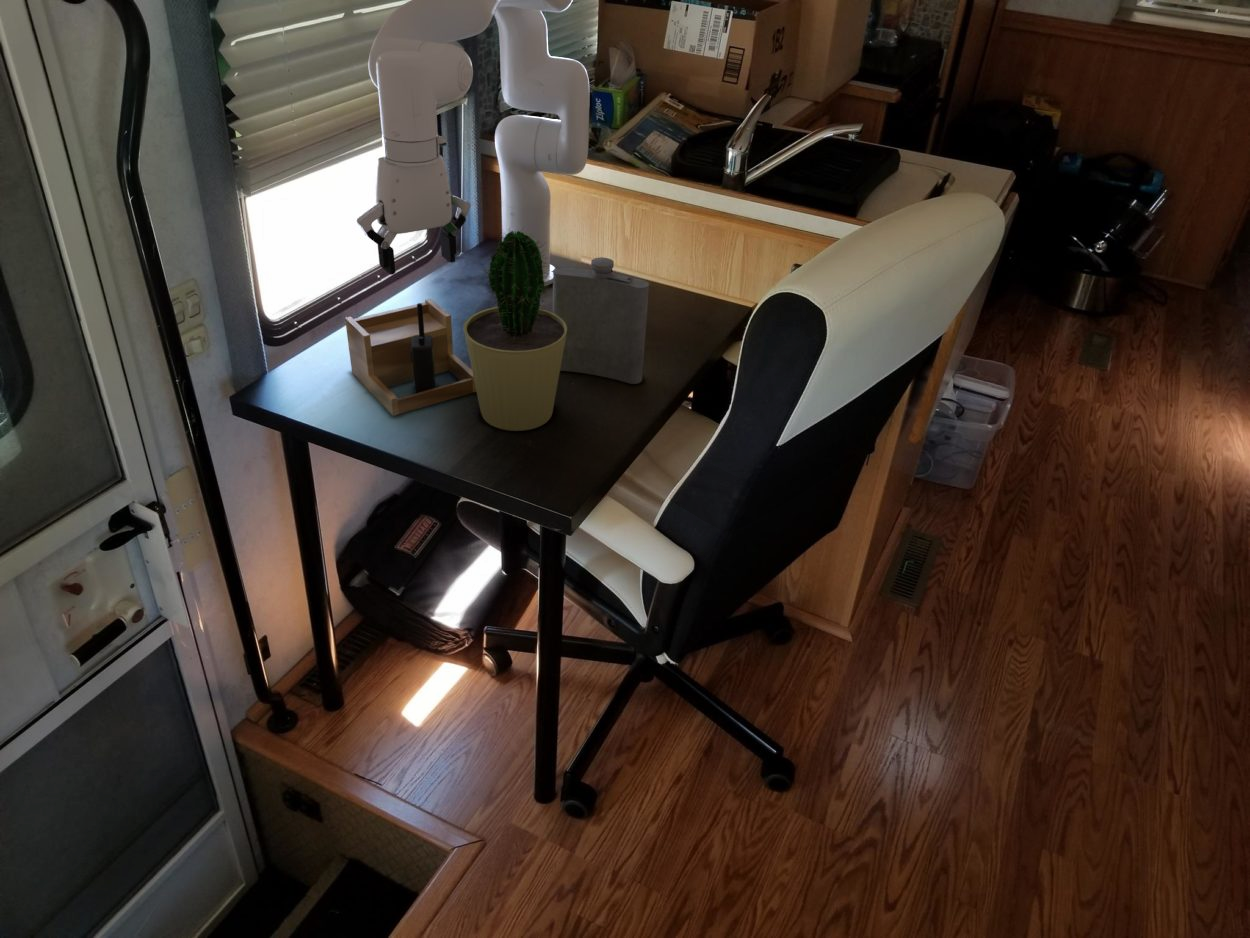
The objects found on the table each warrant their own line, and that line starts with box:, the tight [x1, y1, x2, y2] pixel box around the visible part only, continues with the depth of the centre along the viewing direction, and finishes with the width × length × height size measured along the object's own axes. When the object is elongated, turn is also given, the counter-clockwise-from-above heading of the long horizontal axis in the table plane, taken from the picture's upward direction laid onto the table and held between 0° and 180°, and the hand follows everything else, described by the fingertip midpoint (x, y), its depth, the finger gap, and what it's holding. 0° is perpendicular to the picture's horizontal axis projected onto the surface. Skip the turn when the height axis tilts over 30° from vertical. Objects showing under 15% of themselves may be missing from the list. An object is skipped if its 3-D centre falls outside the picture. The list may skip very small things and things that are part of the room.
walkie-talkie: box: [411, 302, 437, 394], centre depth 147 cm, size 5×3×15 cm
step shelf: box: [344, 298, 477, 417], centre depth 151 cm, size 16×15×10 cm
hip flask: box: [552, 256, 650, 385], centre depth 154 cm, size 16×4×20 cm, turn 75°
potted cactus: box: [462, 227, 567, 432], centre depth 139 cm, size 15×15×30 cm
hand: (419, 265), depth 139 cm, fingers open, 9 cm apart
